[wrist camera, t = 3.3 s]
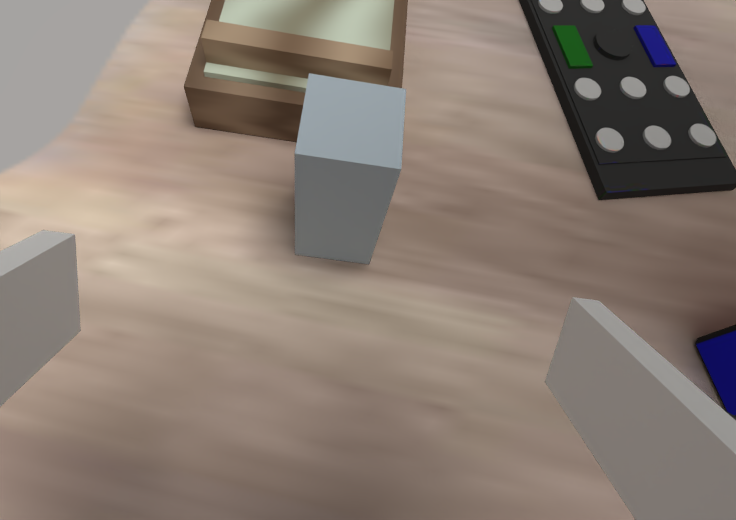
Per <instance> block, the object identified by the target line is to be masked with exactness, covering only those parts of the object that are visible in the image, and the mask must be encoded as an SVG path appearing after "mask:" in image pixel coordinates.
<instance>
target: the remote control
mask: <svg viewBox="0 0 736 520" xmlns="http://www.w3.org/2000/svg"><path fill="white" fill-rule="evenodd" d="M519 1H520V4H521V6H522V9H523V11H524V14H525V16H526V19H527V21H528V24H529V26H530V29H531V31H532V34H533V36H534V39H535V41H536V44H537V46H538V49H539V51H540V54H541V57H542V59H543V62H544V64H545V67H546V69H547V72H548V74H549V77H550V79H551V82H552V84H553V87H554V89H555V92H556V94H557V97H558V99H559V102H560V104H561V107H562V109H563V112H564V114H565V117H566V119H567V122H568V124H569V127H570V129H571V132H572V134H573V137H574V139H575V142H576V144H577V147H578V149H579V152H580V154H581V157H582V159H583V162H584V164H585V167H586V169H587V172H588V174H589V177H590V179H591V182H592V184H593V187H594V189H595V192H596V194H597V197H598V200H606V199H619V198H632V197H645V196H659V195H672V194H685V193H698V192H712V191H725V190H733V189H734V188H736V170H735V168H734V166H733V164H732V162H731V160H730V159H729V157H728V155H727V153H726V151H725V149H724V148H723V146H722V144H721V142H720V140H719V138H718V137H717V135H716V133H715V131H714V129H713V127H712V126H711V124H710V122H709V120H708V118H707V116H706V114H705V113H704V111H703V109H702V107H701V105H700V103H699V102H698V100H697V98H696V96H695V94H694V92H693V91H692V89H691V87H690V85H689V83H688V81H687V80H686V78H685V76H684V74H683V72H682V70H681V69H680V67H679V65H678V63H677V61H676V59H675V57H674V56H673V54H672V52H671V50H670V48H669V46H668V45H667V43H666V41H665V39H664V37H663V35H662V34H661V32H660V30H659V28H658V26H657V24H656V23H655V21H654V19H653V17H652V15H651V13H650V12H649V10H648V8H647V6H646V4H645V2H644V0H519Z"/></svg>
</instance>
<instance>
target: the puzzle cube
mask: <svg viewBox="0 0 736 520" xmlns="http://www.w3.org/2000/svg"><path fill="white" fill-rule="evenodd" d="M696 346H697V348H698V350H699V352H700V354H701V357H702V359H703V361H704V363H705V365H706V367H707V369H708V371H709V374H710V376H711V378H712V380H713V382H714V384H715V386H716V389H717V391H718V393H719V395H720V397H721V399H722V401H723V403H724V406H725V408H726V410H727V412H729V413H731V414H732V415H734V416H736V325H734V326H731V327H728V328H725V329H722V330H720V331H717V332H714V333H711V334H708V335H705V336H703V337H700V338H698V339H697V341H696Z"/></svg>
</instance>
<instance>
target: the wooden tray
mask: <svg viewBox="0 0 736 520" xmlns="http://www.w3.org/2000/svg"><path fill="white" fill-rule="evenodd" d="M407 4H408V0H211V3H210V6H209V9H208V12H207V15H206V19H205V22H204V25H203V28H202V31H201V34H200V37H199V40H198V44H197V47H196V50H195V53H194V56H193V59H192V62H191V65H190V69H189V72H188V75H187V78H186V81H185V84H184V89H185V93H186V96H187V100H188V103H189V107H190V110H191V114H192V117H193V121H194V124H195V127H202V128H208V129H215V130H222V131H228V132H235V133H241V134H248V135H255V136H261V137H268V138H275V139H281V140H288V141H295V142H297V138H298V132H299V127H300V121H301V115H302V110H303V104H304V98H305V93H306V87H307V81H308V76H309V73H310V74H317V75H323V76H329V77H335V78H341V79H347V80H353V81H359V82H366V83H372V84H378V85H384V86H390V87H396V88H402V79H403V64H404V49H405V34H406V19H407Z"/></svg>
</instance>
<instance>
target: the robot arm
mask: <svg viewBox="0 0 736 520" xmlns="http://www.w3.org/2000/svg"><path fill="white" fill-rule="evenodd" d="M80 331H81V330H80V312H79V294H78V277H77V259H76V242H75V234H69V233H61V232H53V231H46V230H42V231H40V232H38V233H36V234H34V235H32V236H30V237H28V238H26V239H24V240H22V241H20V242H18V243H16V244H14V245H12V246H10V247H8V248H6V249H4V250H2V251H0V406H2V405H3V404H4V403H5V402H6V401H7V400H8V399H9V398H10V397H11V396H12V395H13V394H14V393H15V392H16V391H17V390H18V389H20V388H21V387H22V386H23V385H24V384H25V383H26V382H27V381H28V380H29V379H30V378H31V377H32V376H33V375H34V374H35V373H37V372H38V371H39V370H40V369H41V368H42V367H43V366H44V365H45V364H46V363H47V362H48V361H49V360H50V359H51V358H52V357H53V356H55V355H56V354H57V353H58V352H59V351H60V350H61V349H62V348H63V347H64V346H65V345H66V344H67V343H68V342H69V341H70V340H72V339H73V338H74V337H75V336H76V335H77V334H78V333H79V332H80ZM545 383H546V384H547V386H548V387H549V389H550V390H551V392H552V393H553V395H554V396H555V398H556V399H557V401H558V402H559V404H560V406H561V407H562V409H563V410H564V412H565V413H566V415H567V416H568V418H569V419H570V421H571V422H572V424H573V425H574V427H575V428H576V430H577V431H578V433H579V434H580V436H581V437H582V439H583V441H584V442H585V444H586V445H587V447H588V448H589V450H590V451H591V453H592V454H593V456H594V457H595V459H596V460H597V462H598V463H599V465H600V466H601V468H602V469H603V471H604V473H605V474H606V476H607V477H608V479H609V480H610V482H611V483H612V485H613V486H614V488H615V489H616V491H617V492H618V494H619V495H620V497H621V498H622V500H623V501H624V503H625V504H626V506H627V508H628V509H629V511H630V512H631V514H632V515H633V517H634V518H635V520H736V416H734V415H732V414H731V413H729V412H727V411H726V410H724V409H723V408H721V407H720V406H719V405H717V404H716V403H715V402H714V401H713V400H712V399H711V398H709V397H708V396H707V395H706V394H705V393H704V392H703V391H701V390H700V389H699V388H698V387H697V386H696V385H695V384H693V383H692V382H691V381H690V380H689V379H688V378H687V377H685V376H684V375H683V374H682V373H681V372H680V371H679V370H677V369H676V368H675V367H674V366H673V365H672V364H671V363H669V362H668V361H667V360H666V359H665V358H664V357H663V356H661V355H660V354H659V353H658V352H657V351H656V350H655V349H653V348H652V347H651V346H650V345H649V344H648V343H647V342H645V341H644V340H643V339H642V338H641V337H640V336H639V335H637V334H636V333H635V332H634V331H633V330H632V329H631V328H629V327H628V326H627V325H626V324H625V323H624V322H623V321H621V320H620V319H619V318H618V317H617V316H616V315H615V314H613V313H612V312H611V311H610V310H609V309H608V308H607V307H605V306H604V305H603V304H602V303H601V302H600V301H599V300H591V299H583V298H575V297H572V300H571V303H570V306H569V309H568V312H567V315H566V318H565V321H564V324H563V327H562V330H561V333H560V337H559V340H558V343H557V346H556V349H555V352H554V355H553V358H552V361H551V364H550V367H549V370H548V374H547V377H546V380H545Z"/></svg>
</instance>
